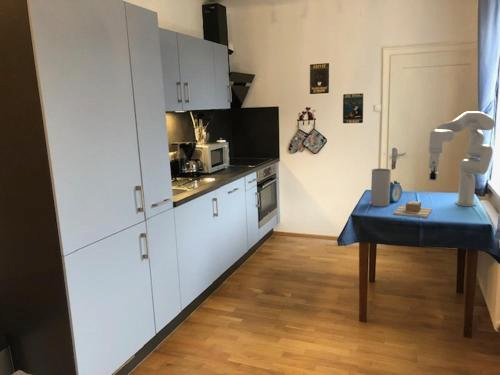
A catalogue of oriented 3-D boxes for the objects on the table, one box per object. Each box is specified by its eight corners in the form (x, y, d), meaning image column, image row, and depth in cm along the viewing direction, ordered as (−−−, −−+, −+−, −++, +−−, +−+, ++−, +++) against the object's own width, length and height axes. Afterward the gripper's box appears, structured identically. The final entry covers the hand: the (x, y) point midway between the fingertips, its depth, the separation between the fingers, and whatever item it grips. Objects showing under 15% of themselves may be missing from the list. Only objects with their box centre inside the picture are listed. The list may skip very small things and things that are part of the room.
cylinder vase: (384, 208, 280) (385, 172, 275) (367, 205, 288) (368, 170, 283) (392, 204, 289) (393, 169, 283) (375, 201, 297) (377, 167, 292)
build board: (400, 206, 281) (400, 197, 280) (431, 210, 271) (432, 200, 270) (393, 214, 265) (394, 204, 263) (426, 217, 254) (427, 207, 253)
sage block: (429, 179, 264) (430, 171, 263) (437, 179, 261) (438, 172, 260) (428, 180, 259) (429, 172, 258) (437, 181, 257) (437, 173, 256)
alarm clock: (391, 203, 290) (392, 183, 287) (383, 202, 295) (384, 182, 292) (401, 200, 298) (402, 180, 294) (394, 199, 302) (395, 179, 299)
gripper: (430, 148, 265) (428, 176, 269) (427, 151, 251) (425, 180, 255) (443, 149, 262) (441, 177, 265) (440, 152, 247) (438, 181, 251)
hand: (433, 178), depth 260 cm, fingers closed on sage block, 4 cm apart
